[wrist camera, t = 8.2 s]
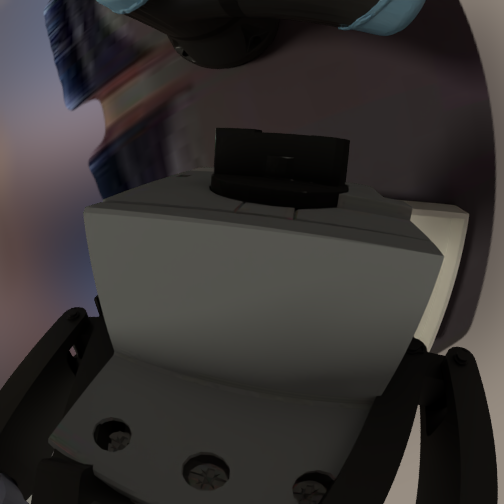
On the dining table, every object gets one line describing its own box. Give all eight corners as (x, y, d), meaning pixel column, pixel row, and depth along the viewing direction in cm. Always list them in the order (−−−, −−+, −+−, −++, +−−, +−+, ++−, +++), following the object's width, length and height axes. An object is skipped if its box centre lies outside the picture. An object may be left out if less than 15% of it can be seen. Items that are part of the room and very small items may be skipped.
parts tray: (317, 196, 36) (318, 204, 32) (455, 205, 31) (469, 213, 27) (310, 340, 46) (309, 358, 42) (421, 340, 41) (427, 356, 37)
